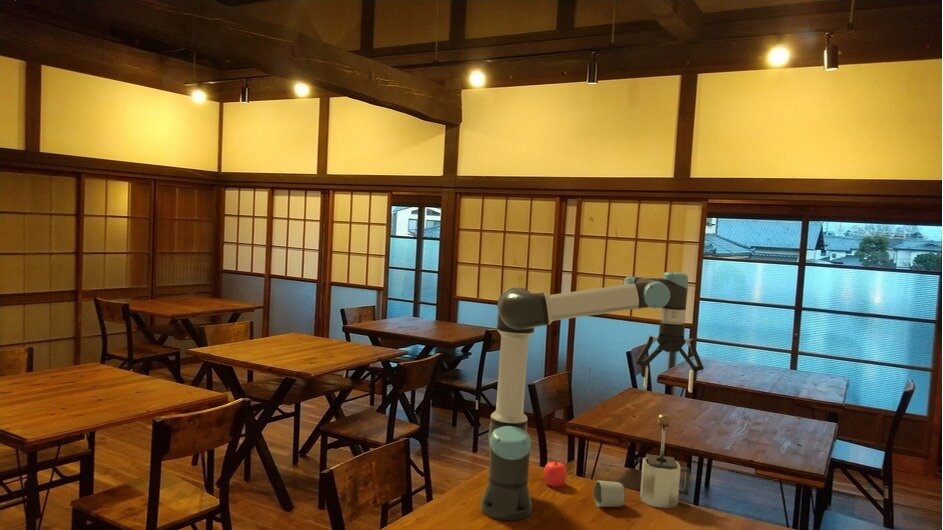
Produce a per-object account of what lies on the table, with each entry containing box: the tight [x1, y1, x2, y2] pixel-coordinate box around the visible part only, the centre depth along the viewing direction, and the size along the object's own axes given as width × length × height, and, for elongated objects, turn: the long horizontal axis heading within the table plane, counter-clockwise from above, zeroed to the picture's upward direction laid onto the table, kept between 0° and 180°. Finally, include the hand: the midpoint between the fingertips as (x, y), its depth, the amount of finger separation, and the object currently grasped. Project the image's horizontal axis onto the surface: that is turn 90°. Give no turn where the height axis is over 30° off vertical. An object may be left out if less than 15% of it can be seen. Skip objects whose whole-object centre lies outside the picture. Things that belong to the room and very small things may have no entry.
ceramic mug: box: [593, 480, 627, 508], centre depth 205 cm, size 11×8×8 cm
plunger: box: [657, 413, 673, 469], centre depth 208 cm, size 8×8×18 cm
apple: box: [543, 460, 568, 488], centre depth 218 cm, size 8×8×8 cm
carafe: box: [639, 454, 691, 510], centre depth 208 cm, size 14×11×13 cm
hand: (667, 389), depth 207 cm, fingers open, 13 cm apart
